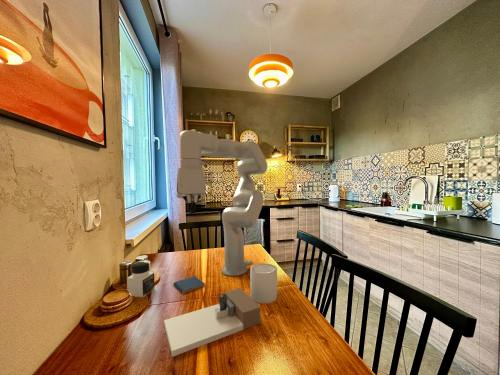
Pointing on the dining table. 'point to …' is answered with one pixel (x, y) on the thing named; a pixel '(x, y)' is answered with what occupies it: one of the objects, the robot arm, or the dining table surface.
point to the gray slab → (211, 323)
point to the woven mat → (188, 284)
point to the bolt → (222, 307)
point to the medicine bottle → (140, 280)
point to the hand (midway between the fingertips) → (191, 213)
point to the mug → (263, 283)
